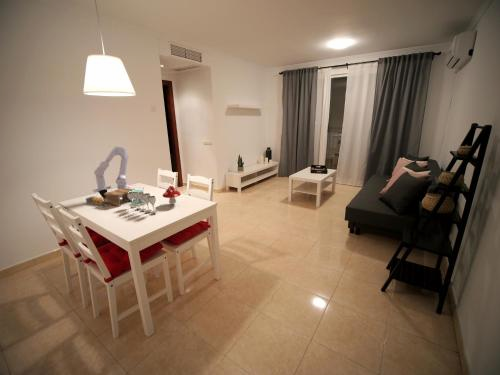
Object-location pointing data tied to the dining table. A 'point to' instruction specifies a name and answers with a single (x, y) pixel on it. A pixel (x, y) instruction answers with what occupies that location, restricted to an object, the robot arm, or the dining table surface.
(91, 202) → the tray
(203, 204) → the dining table surface
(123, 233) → the dining table surface
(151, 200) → the goblet set
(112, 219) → the dining table surface
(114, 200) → the brown boxy piece
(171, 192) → the decorative mushroom
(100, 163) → the robot arm
